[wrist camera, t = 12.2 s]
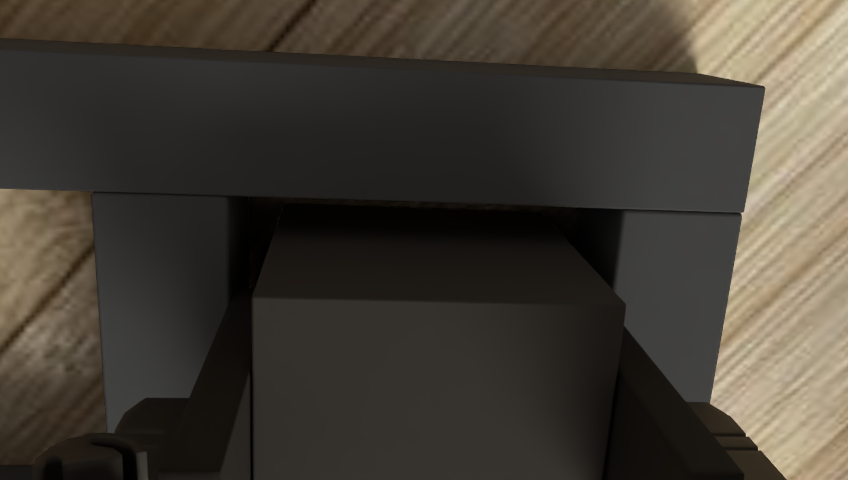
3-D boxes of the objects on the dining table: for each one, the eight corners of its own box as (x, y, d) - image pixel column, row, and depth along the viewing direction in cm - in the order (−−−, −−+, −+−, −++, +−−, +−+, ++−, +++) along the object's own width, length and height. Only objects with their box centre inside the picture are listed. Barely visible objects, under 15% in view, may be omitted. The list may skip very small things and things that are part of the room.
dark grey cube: (542, 211, 18) (627, 304, 13) (519, 438, 20) (585, 610, 14) (283, 203, 18) (251, 295, 12) (282, 438, 20) (252, 617, 14)
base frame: (-398, 17, 16) (-566, 20, 13) (700, 73, 18) (766, 86, 15) (-276, 555, 19) (-386, 651, 16) (629, 546, 21) (672, 629, 19)
